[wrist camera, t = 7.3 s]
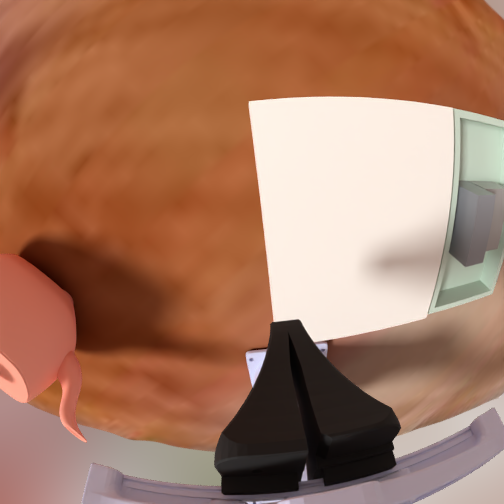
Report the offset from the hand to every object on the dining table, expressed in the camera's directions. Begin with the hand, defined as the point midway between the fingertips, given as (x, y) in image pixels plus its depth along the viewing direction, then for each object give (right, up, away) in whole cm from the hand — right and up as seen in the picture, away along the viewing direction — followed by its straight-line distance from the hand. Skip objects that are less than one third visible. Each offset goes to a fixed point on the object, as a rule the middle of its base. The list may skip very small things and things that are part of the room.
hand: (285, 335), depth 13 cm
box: (+19, +8, +7) cm, 21 cm away
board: (+6, +6, +7) cm, 12 cm away
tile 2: (+15, +6, +5) cm, 17 cm away
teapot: (-24, -2, +11) cm, 26 cm away
